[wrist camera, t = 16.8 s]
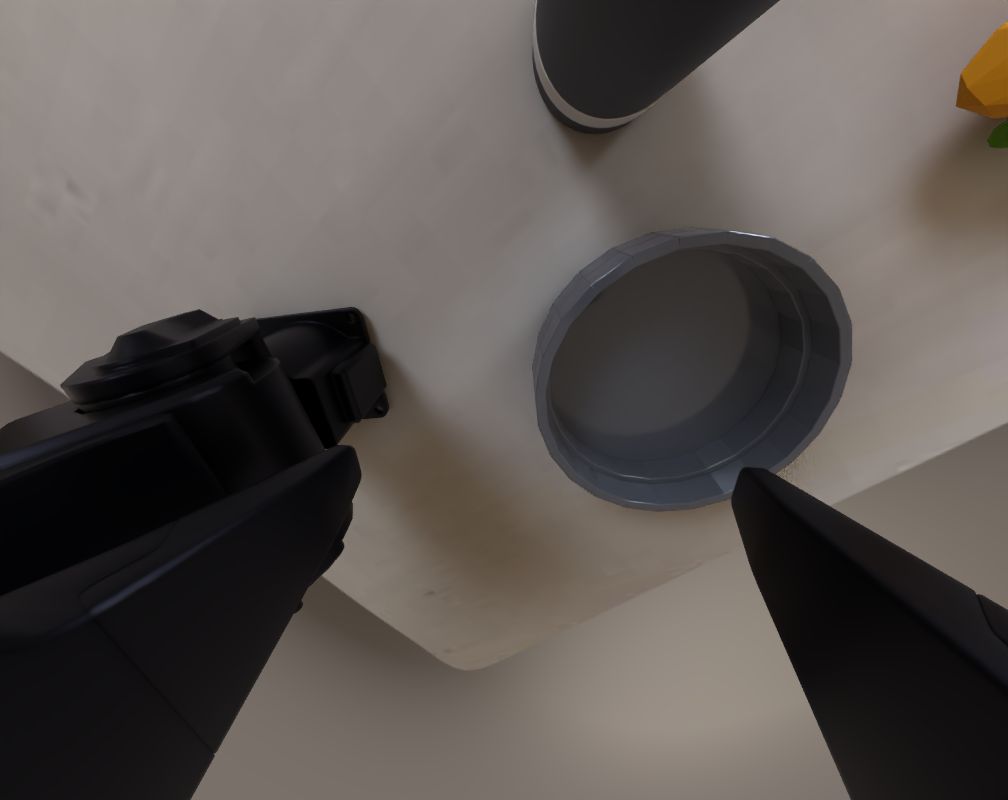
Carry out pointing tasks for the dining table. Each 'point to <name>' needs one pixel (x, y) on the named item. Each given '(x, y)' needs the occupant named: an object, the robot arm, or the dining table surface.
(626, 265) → the pan
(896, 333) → the dining table surface
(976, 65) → the corn
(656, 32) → the canister
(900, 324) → the dining table surface
